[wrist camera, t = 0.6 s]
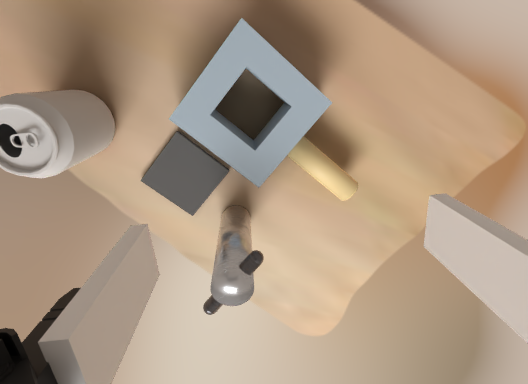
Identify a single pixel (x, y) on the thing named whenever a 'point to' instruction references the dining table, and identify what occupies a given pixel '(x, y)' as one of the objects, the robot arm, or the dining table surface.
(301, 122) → the block
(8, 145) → the can
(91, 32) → the dining table surface
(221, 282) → the silver tall rounded piece
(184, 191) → the mat
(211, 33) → the dining table surface
